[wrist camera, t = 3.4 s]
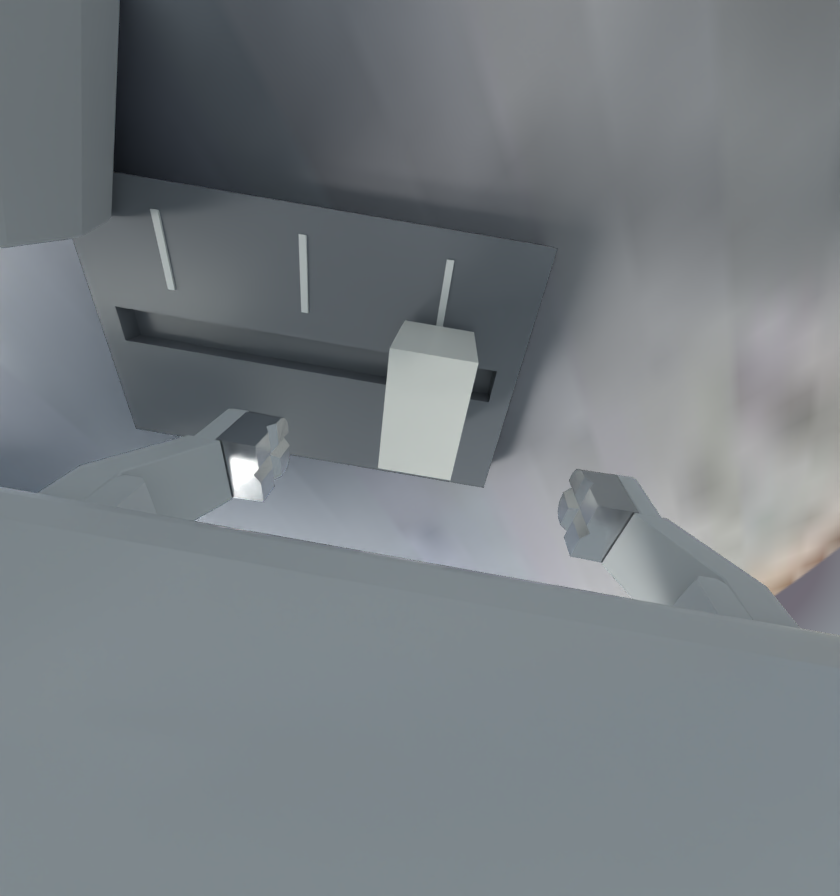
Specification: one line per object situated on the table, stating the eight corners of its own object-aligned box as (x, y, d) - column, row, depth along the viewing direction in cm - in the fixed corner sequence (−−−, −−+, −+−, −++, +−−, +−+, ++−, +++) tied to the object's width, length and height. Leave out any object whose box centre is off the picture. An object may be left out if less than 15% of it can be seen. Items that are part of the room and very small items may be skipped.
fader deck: (481, 467, 22) (483, 488, 20) (160, 412, 22) (134, 429, 20) (546, 245, 15) (558, 248, 14) (91, 167, 15) (43, 160, 14)
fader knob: (452, 420, 19) (450, 480, 15) (396, 411, 19) (377, 468, 15) (473, 325, 16) (478, 363, 12) (408, 314, 16) (389, 347, 12)
